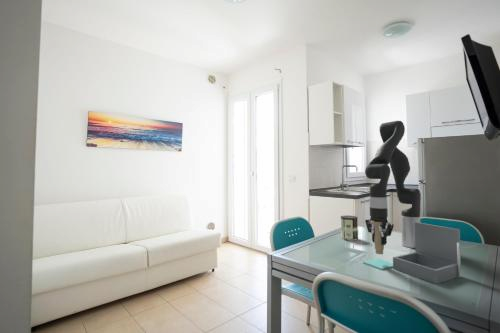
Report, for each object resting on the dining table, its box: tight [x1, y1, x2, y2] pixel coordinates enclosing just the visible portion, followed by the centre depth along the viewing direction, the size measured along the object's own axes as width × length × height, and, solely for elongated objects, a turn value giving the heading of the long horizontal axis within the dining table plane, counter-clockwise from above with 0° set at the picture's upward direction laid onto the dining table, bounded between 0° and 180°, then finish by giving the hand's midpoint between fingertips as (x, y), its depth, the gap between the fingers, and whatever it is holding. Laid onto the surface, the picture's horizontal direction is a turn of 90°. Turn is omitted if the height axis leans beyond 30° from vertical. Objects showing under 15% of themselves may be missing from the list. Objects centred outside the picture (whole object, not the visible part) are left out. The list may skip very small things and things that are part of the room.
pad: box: [362, 258, 393, 271], centre depth 121 cm, size 10×10×1 cm
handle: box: [371, 221, 385, 255], centre depth 121 cm, size 5×6×15 cm
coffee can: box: [340, 215, 359, 241], centre depth 168 cm, size 10×10×14 cm
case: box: [392, 222, 462, 284], centre depth 111 cm, size 17×19×19 cm
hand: (379, 243), depth 121 cm, fingers closed on handle, 4 cm apart
